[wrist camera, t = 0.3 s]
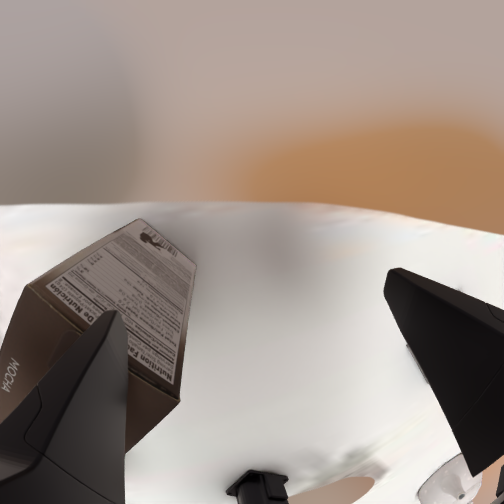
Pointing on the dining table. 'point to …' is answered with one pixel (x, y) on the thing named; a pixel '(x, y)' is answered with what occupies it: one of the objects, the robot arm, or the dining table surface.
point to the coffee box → (92, 306)
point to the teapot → (451, 484)
